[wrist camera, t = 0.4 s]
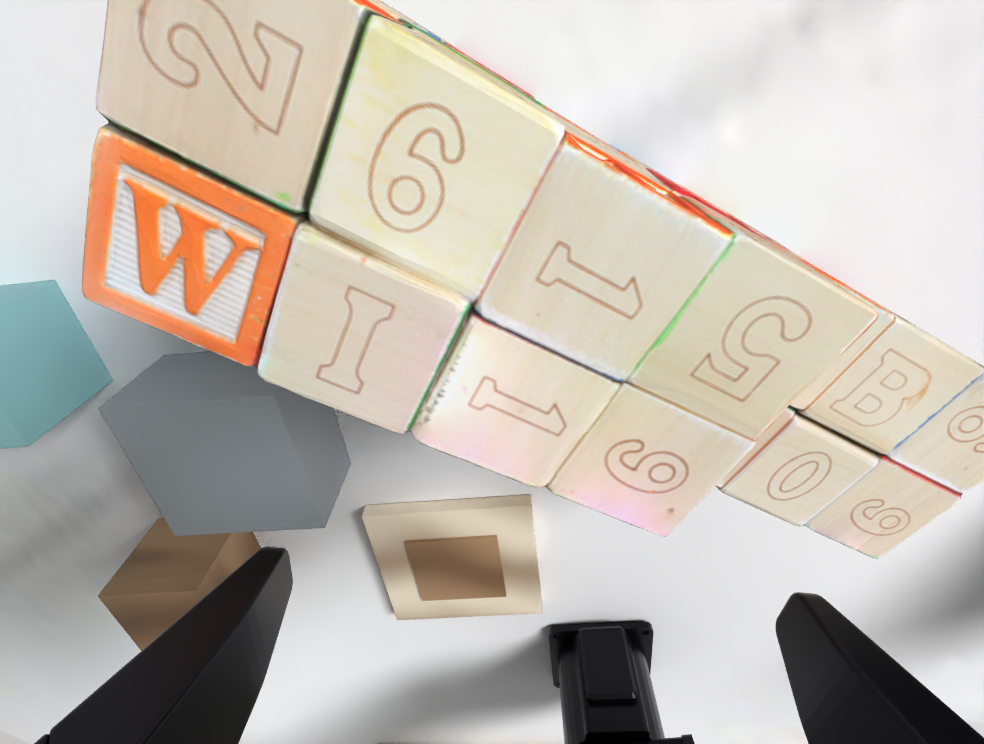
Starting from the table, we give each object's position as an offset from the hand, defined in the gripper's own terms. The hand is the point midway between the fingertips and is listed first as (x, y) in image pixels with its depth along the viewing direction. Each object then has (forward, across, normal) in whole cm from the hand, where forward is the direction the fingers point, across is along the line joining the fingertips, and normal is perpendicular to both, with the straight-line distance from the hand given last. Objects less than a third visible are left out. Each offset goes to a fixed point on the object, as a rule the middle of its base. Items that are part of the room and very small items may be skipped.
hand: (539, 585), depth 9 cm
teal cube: (+14, +22, +4) cm, 26 cm away
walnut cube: (+14, +16, +17) cm, 27 cm away
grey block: (+14, +12, +7) cm, 20 cm away
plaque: (+14, +2, +16) cm, 22 cm away
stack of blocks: (+14, -2, -3) cm, 15 cm away
